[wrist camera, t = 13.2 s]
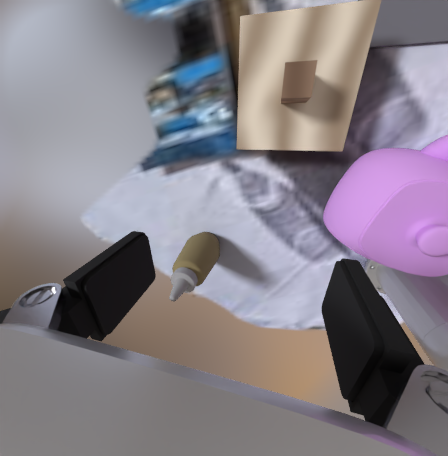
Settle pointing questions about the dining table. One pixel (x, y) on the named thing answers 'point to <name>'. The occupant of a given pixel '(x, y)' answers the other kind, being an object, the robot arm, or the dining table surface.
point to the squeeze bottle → (194, 263)
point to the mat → (410, 23)
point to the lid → (302, 75)
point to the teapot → (395, 208)
